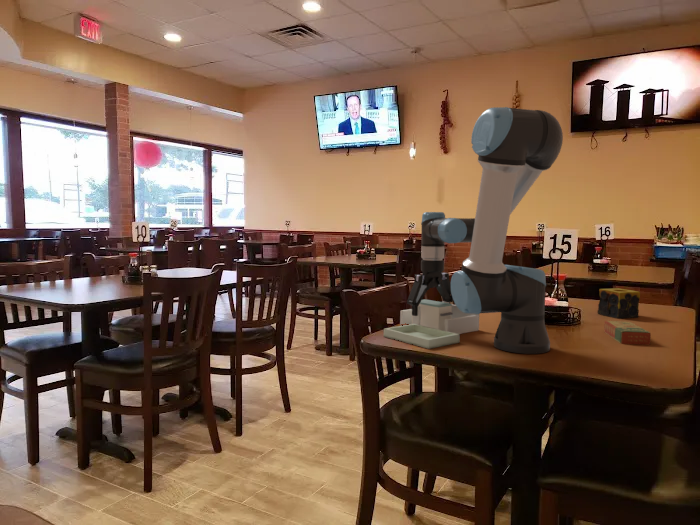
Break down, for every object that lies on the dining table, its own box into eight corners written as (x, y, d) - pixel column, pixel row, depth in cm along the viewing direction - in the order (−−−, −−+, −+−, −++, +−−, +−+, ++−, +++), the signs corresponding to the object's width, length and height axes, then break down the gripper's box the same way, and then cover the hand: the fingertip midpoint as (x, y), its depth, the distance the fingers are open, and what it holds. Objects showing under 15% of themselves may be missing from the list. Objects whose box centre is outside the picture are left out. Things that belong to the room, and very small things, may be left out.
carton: (631, 334, 168) (631, 321, 168) (651, 346, 152) (651, 331, 152) (603, 333, 169) (604, 320, 169) (620, 344, 154) (621, 330, 153)
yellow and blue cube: (597, 314, 202) (598, 288, 202) (617, 313, 206) (619, 288, 205) (617, 319, 193) (619, 292, 192) (639, 317, 196) (640, 291, 195)
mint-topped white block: (453, 331, 169) (454, 304, 168) (440, 334, 165) (441, 306, 164) (424, 325, 179) (424, 299, 178) (411, 327, 176) (412, 300, 175)
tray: (459, 342, 153) (459, 334, 153) (428, 348, 146) (428, 340, 145) (413, 331, 168) (413, 323, 168) (383, 336, 161) (383, 328, 160)
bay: (478, 330, 171) (479, 309, 170) (447, 336, 162) (447, 313, 161) (431, 320, 188) (431, 300, 187) (400, 324, 179) (400, 304, 178)
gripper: (449, 257, 181) (448, 317, 183) (396, 260, 166) (395, 325, 168) (466, 258, 175) (464, 320, 177) (413, 261, 160) (412, 329, 162)
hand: (431, 323), depth 173 cm, fingers open, 13 cm apart
